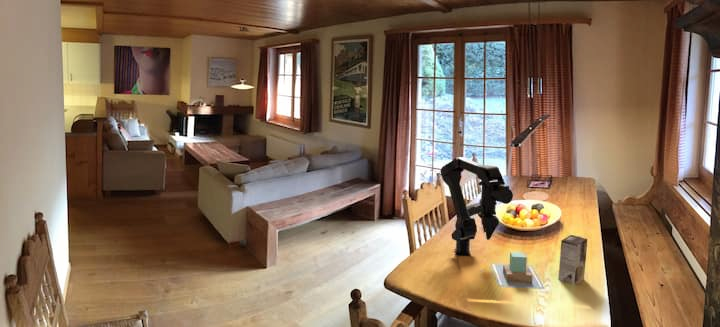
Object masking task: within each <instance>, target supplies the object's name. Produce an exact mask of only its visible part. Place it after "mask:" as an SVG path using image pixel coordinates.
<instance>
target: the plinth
mask: <svg viewBox="0 0 720 327" xmlns="http://www.w3.org/2000/svg"><path fill="white" fill-rule="evenodd" d="M503 274H504V276H505V279H506V281H507V282H520V283H532V278H533V275H532V273H531V271H530V270H529V268H528V266H526V273H518V272H512V271H511V269H510V267H509V265H503Z"/></svg>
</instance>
